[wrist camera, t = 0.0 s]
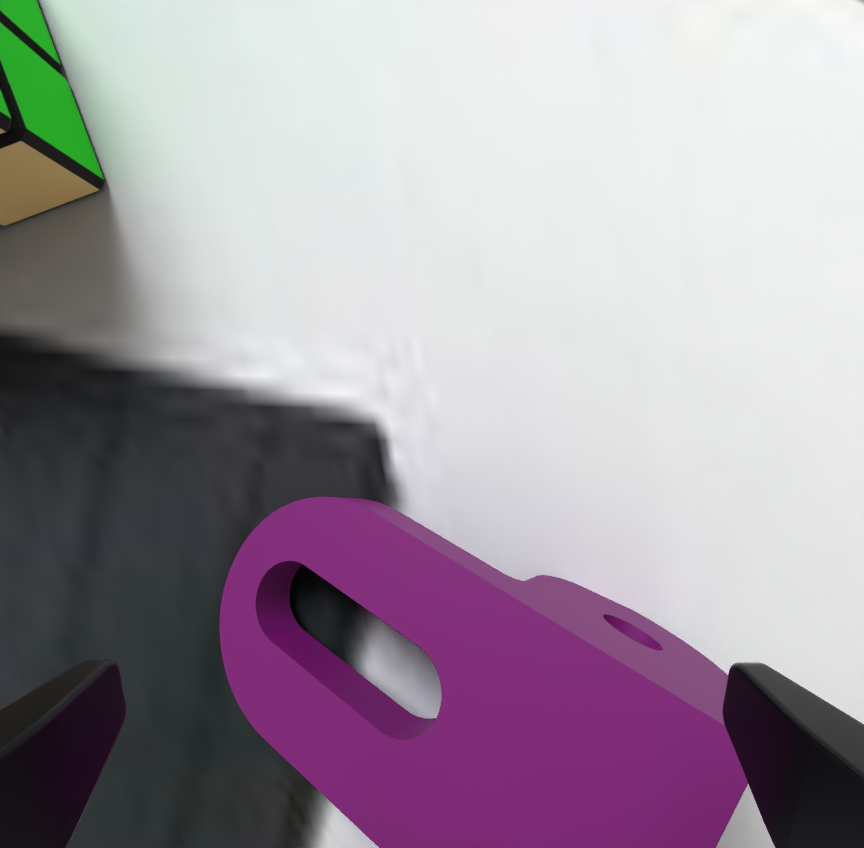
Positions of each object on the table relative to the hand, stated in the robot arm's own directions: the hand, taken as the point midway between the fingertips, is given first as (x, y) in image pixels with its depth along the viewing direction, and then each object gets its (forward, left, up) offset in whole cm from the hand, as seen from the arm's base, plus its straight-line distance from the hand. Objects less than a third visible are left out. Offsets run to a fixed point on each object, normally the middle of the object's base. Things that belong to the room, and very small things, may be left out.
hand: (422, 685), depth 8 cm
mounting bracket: (-4, -4, -16) cm, 17 cm away
